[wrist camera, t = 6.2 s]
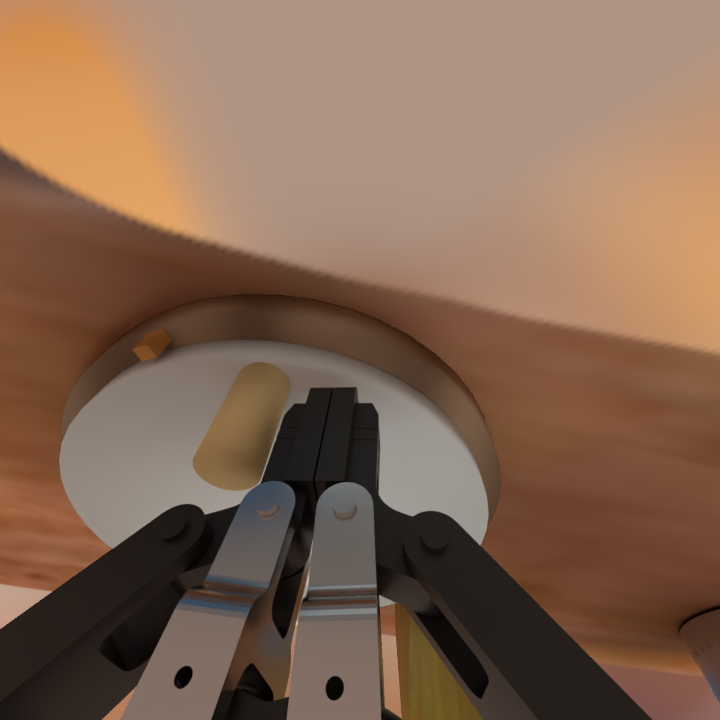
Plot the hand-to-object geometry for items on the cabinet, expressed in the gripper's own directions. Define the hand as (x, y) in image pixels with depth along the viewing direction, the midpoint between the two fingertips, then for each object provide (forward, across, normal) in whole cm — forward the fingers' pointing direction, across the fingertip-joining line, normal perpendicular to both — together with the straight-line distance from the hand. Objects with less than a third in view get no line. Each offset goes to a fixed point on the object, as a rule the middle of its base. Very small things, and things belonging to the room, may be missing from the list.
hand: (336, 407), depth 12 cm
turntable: (+3, +4, +10) cm, 12 cm away
